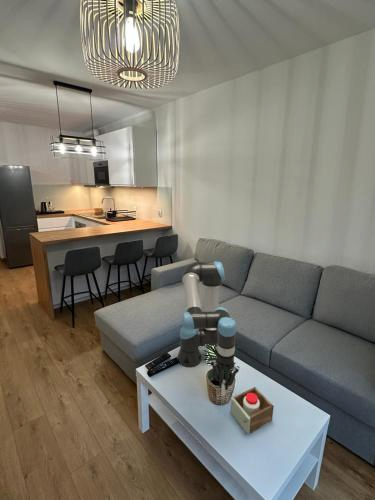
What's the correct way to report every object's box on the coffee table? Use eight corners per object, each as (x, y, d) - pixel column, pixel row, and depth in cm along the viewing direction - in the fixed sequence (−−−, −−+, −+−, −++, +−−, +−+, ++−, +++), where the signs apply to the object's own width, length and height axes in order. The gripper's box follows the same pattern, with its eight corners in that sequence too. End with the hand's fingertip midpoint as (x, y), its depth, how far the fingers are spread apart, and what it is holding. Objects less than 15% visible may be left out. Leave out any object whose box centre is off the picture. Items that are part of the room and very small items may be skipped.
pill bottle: (246, 405, 133) (248, 388, 130) (261, 414, 128) (262, 396, 125) (239, 416, 127) (240, 398, 124) (254, 425, 123) (255, 407, 119)
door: (227, 412, 130) (228, 398, 128) (231, 410, 131) (232, 396, 129) (245, 435, 119) (246, 420, 116) (249, 432, 120) (250, 418, 117)
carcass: (233, 411, 131) (233, 396, 129) (253, 400, 137) (255, 386, 134) (250, 433, 120) (251, 417, 117) (272, 420, 126) (273, 405, 123)
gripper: (208, 353, 113) (207, 395, 121) (238, 361, 108) (235, 404, 116) (213, 342, 120) (212, 383, 127) (242, 350, 115) (239, 391, 123)
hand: (223, 393), depth 122 cm, fingers closed
